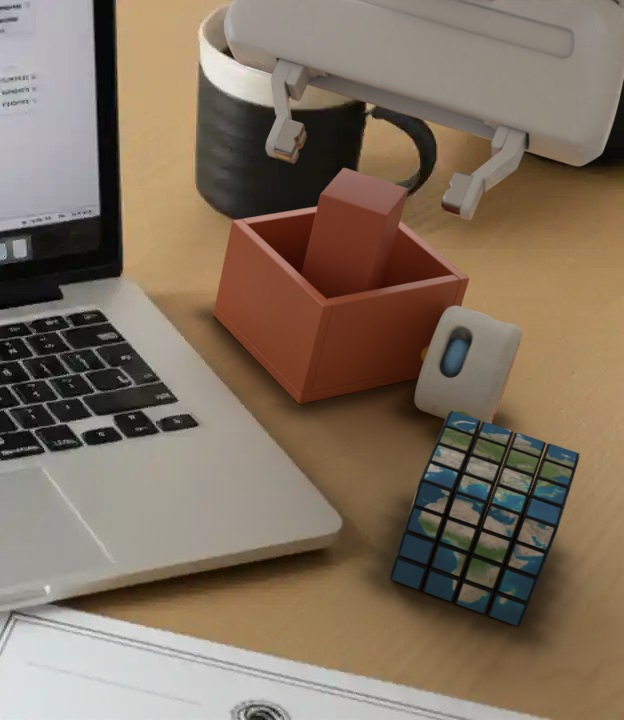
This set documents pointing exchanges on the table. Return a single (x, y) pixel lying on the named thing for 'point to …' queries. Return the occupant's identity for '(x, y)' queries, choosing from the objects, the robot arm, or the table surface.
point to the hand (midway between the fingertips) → (365, 184)
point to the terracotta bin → (330, 309)
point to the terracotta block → (353, 234)
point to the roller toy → (467, 365)
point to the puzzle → (501, 522)
